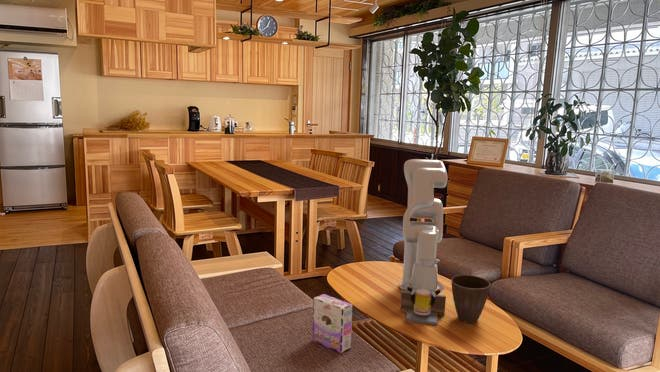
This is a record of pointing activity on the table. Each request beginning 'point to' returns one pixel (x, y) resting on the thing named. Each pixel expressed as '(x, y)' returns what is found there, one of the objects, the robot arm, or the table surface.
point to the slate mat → (421, 318)
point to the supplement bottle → (422, 301)
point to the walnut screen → (437, 307)
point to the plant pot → (469, 296)
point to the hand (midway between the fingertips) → (422, 303)
